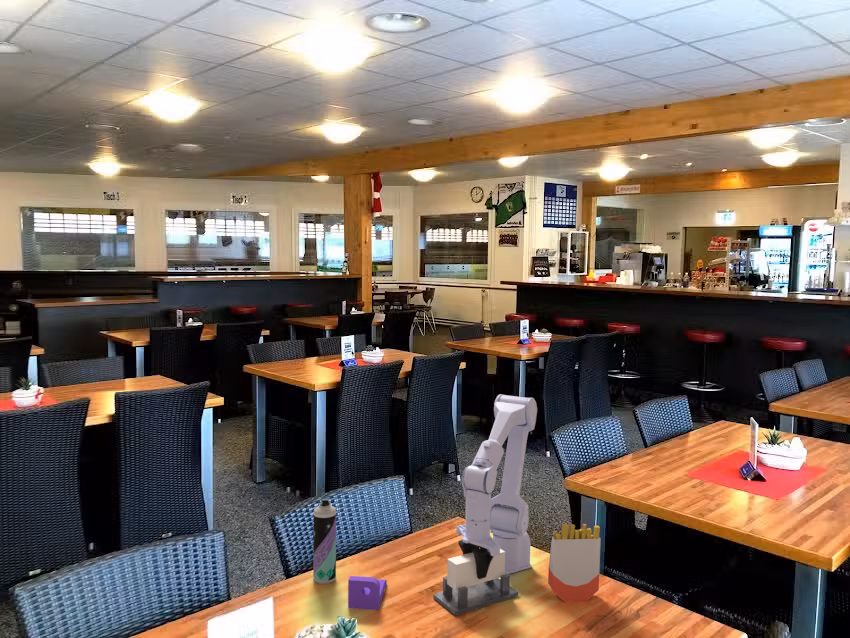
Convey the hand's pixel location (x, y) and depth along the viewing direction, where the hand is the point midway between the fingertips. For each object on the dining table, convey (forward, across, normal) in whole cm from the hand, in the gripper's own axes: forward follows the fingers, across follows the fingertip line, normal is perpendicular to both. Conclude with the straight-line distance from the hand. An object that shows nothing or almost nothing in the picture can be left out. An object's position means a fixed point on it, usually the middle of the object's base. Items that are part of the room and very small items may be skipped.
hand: (476, 574), depth 156 cm
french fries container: (+6, +11, +20) cm, 24 cm away
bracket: (+6, -13, -22) cm, 26 cm away
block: (+1, 0, 0) cm, 1 cm away
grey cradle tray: (+6, 0, 0) cm, 6 cm away
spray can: (+6, -26, -27) cm, 38 cm away
